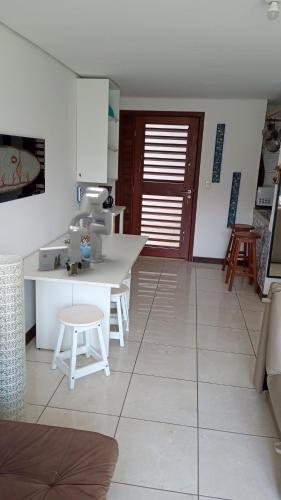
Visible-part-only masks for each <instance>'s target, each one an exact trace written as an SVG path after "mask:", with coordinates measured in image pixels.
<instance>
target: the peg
mask: <svg viewBox="0 0 281 500" xmlns="http://www.w3.org/2000/svg"><path fill="white" fill-rule="evenodd" d="M78 271H79V270H78V264H76V263H75V262H74V263H71V264H70V274H71V275H73V274H76V275H78Z"/></svg>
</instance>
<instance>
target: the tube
mask: <svg viewBox="0 0 281 500" xmlns="http://www.w3.org/2000/svg"><path fill="white" fill-rule="evenodd" d="M74 263H76V264H78V263H79V262H74ZM92 269H93V267H91V262H90V261H88V259H86V258H84V261H83V263H82V267H81V269H79V268H78V271H79V272H82V271H88V270H92Z"/></svg>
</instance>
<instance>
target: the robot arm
mask: <svg viewBox="0 0 281 500" xmlns="http://www.w3.org/2000/svg"><path fill="white" fill-rule="evenodd" d="M108 197H109V191H108V189H107V188H106V187H97V186H88V187H86V188H85V193H84V194H83V195H82V199H81V203H80V206H79V210H78V212H77V213H76V214H74V216H73V217H72V218H71V219H70V221H69V225H68V230H67V233H68V235H69V244H68V245H69V247H68V252H67V258H66V259H64V262H65V264H66V265H67V268H66V271H67V272H71V264H73V263H75V262H79V263H78V268H79V269H81V267H82V263H83V261H84V259H86V258H85V257H84V256H82V252H81V248H80V246H81V245H82V243H81V239H84V238H87V237H88V236H90V237H89V240H90V241H89V249H90V256H89V257H88V258H87V261H90V263H94V264H95V263H96V264H97V263H103V262H104V258H106V257H107V255H106V254H103V238H102V235H103V236H109V235H111V234H112V229H113V228H112V227H113V219H112V218H113V215H112V210H110V209H108V208H103V203H105V201H106V200H107V199H108ZM90 216H91V219H92V220H93V221H91V222H90V224H89V228H87V227H84V226H79V225H78V226H77V223H78V222H79V221H81V220H83V219H85V218H89V217H90ZM89 234H90V235H89ZM67 261H68V262H67ZM102 261H103V262H102Z"/></svg>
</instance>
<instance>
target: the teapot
mask: <svg viewBox="0 0 281 500" xmlns="http://www.w3.org/2000/svg"><path fill="white" fill-rule="evenodd" d="M80 248H81V252H82V256H84V257H85V258H84V259H88V258H90V247H89V246H88V242H86V243H83V244H82V243H81V246H80Z"/></svg>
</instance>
